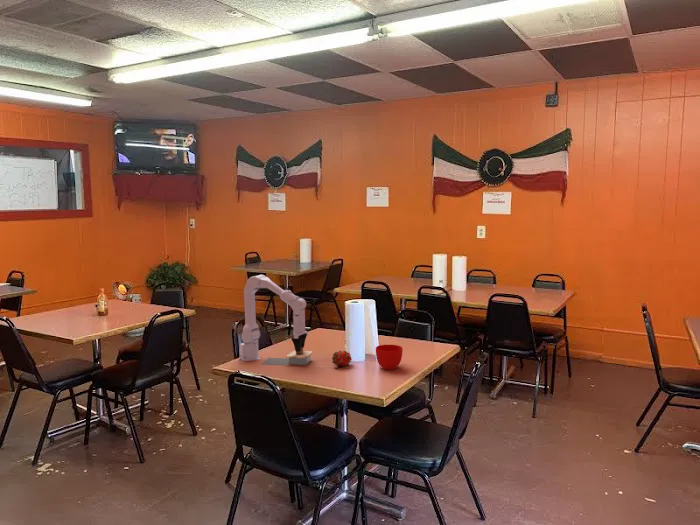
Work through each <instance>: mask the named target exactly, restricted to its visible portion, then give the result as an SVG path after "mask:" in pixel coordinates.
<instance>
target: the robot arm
mask: <svg viewBox="0 0 700 525" xmlns="http://www.w3.org/2000/svg"><path fill="white" fill-rule="evenodd" d="M260 289H268V290H270V291H272V292H273V293H275V294H276V295H278V296H279V298H280V300H281V301H282V302H284V303H286V304H287V305H288V306H290V308H291V310H292V311H293V312H292V314H293V319H292V320H293V321H292V322H293V332H292V333H293V336H291V338H290V339H291V341H292V343H293V346H294V351H296V352H300V349H301V347H303V349H304V348H305V344H306V339H307V336H308V331H307V330H306V315H305V314H306V312H305V311H306V307H307V301H306V300H305V299H304V298H303V297H300V296H298V295H295V294H294V293H293V292H292V290H290V289H283V288H282V287H280V286H279V285H277V284H276V283H275V282H274V281H272V280H271V279H270V278H269V277H268V276H266V275H264V274H259V275H258V274H257V275H253V276H250V277H249V278H248V279H247V280H246V284H245V286H244V288H243V299H244V301H243V302H244V304H243V305H244V321H245V322H244V323H245V324H244V326H243V328H242V333H241V334H240V335H241V336H240V337H241V341H242V342H241V343H239V345H238V346H239V349H238V350H239V357H238V359H239V360H241V361H242V362H248V361H256V360H262V359H261V357H259V339H260V338H261V331H260V329H259V325H258V324H257V317H256V316H257V315H256V313H257V311H256V293H257V292H258V290H260Z"/></svg>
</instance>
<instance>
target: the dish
mask: <svg viewBox="0 0 700 525" xmlns="http://www.w3.org/2000/svg"><path fill="white" fill-rule="evenodd" d="M311 360H312V354H311V355H310V356H309V358H289V363H288V365H296V366H297V365H299V366H307V365H308V364H309V363H310V362H311Z"/></svg>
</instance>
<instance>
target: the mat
mask: <svg viewBox="0 0 700 525" xmlns="http://www.w3.org/2000/svg"><path fill="white" fill-rule="evenodd" d="M262 365H263V366H264V365H265V366H287V365H289V358H286V357H268V358H266V359H265V360H264V361H263V362H261V363H260V366H262Z"/></svg>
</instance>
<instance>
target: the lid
mask: <svg viewBox="0 0 700 525" xmlns="http://www.w3.org/2000/svg"><path fill="white" fill-rule="evenodd" d="M312 354H313V351H312V350H311V351H310V350H304V348H303V347H301V349H300V352H296V351H295V350H291V351H290V352H289V353H287V355H285V358H309V356H310V355H311V356H312Z"/></svg>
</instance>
